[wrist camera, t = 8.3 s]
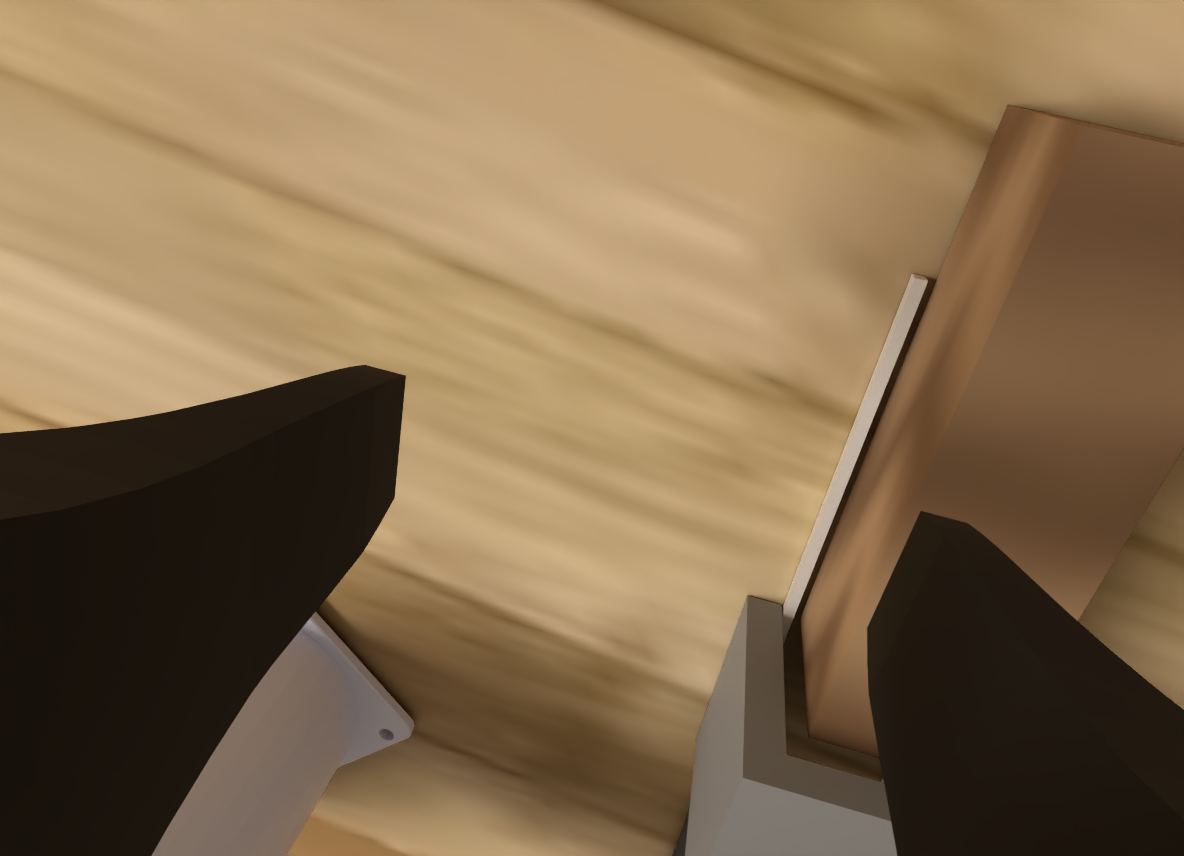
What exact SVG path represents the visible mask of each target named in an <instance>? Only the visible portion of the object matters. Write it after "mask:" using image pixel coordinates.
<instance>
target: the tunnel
mask: <svg viewBox="0 0 1184 856" xmlns="http://www.w3.org/2000/svg"><path fill="white" fill-rule="evenodd" d="M927 283H928V280H927V279H926V277H925V276H921V275H917V274H912V275H911V277H910V280H909V283H908V285H907V288H906V290H905V293H904V296H903V298H902V301H901V303H900V306H899V308H898V311H897V314H896V316H895V319H894V321H893V324H892V326H891V329H890V332H889V334H888V337H887V339H886V342H885V345H884V347H883V350H882V352H881V355H880V357H879V360H878V363H877V365H876V368H875V370H874V373H873V375H872V378H871V381H870V383H869V386H868V388H867V391H866V393H865V396H864V399H863V401H862V404H861V406H860V409H859V412H858V414H857V417H856V419H855V422H854V424H853V427H852V430H851V432H850V435H849V437H848V440H847V442H846V445H845V448H844V450H843V453H842V455H841V458H840V460H839V463H838V466H837V468H836V471H835V473H834V476H833V479H832V481H831V484H830V486H829V489H828V491H827V494H826V497H825V499H824V502H823V504H822V507H821V509H820V512H819V515H818V517H817V520H816V522H815V525H814V528H813V530H812V533H811V535H810V538H809V540H808V543H807V546H806V548H805V551H804V553H803V556H802V558H801V561H800V564H799V566H798V569H797V571H796V574H795V576H794V579H793V582H792V584H791V587H790V589H789V592H788V595H787V597H786V600H785V602H784V605H783V607H782V605H780V604H776V603H773V602H769V601H765V600H762V599H758V598H754V597H751V596H747V598H746V601H745V604H744V607H743V610H742V612H741V615H740V618H739V621H738V624H737V626H736V629H735V632H734V635H733V637H732V640H731V643H730V646H729V649H728V651H727V654H726V657H725V660H724V663H723V665H722V668H721V671H720V674H719V676H718V679H717V682H716V685H715V688H714V690H713V693H712V696H711V699H710V702H709V704H708V707H707V710H706V713H705V715H704V718H703V721H702V724H701V727H700V729H699V732H698V735H697V738H696V744H695V755H694V765H693V776H692V786H691V797H690V807H689V818H688V829H687V839H686V850H685V856H897V851H896V846H895V840H894V835H893V829H892V824H891V818H890V813H889V807H888V802H887V796H886V791H885V785H884V780H883V779H882V781H881V782H878V781H875V780H871V779H868V778H865V777H861V776H858V775H854V774H851V773H847V772H844V771H840V770H837V769H834V768H830V767H827V766H823V765H820V764H816V763H813V762H809V761H806V760H803V759H799V758H796V757H792V756H789V755H787V753H786V723H785V693H784V663H783V643H784V641H785V638H786V636H787V633H788V631H789V628H790V626H791V623H792V621H793V618H794V616H795V613H796V611H797V608H798V606H799V603H800V601H801V598H802V596H803V593H804V591H805V588H806V586H807V583H808V581H809V578H810V576H811V573H812V571H813V568H814V566H815V563H816V561H817V558H818V556H819V553H820V551H821V548H822V546H823V543H824V541H825V538H826V536H827V533H828V531H829V528H830V526H831V523H832V521H833V518H834V516H835V513H836V511H837V508H838V506H839V503H840V501H841V498H842V496H843V493H844V491H845V488H846V486H847V483H848V481H849V478H850V476H851V473H852V471H853V468H854V466H855V463H856V461H857V458H858V456H859V453H860V451H861V448H862V446H863V443H864V441H865V438H866V436H867V433H868V431H869V428H870V426H871V423H872V421H873V418H874V416H875V413H876V410H877V408H878V405H879V403H880V400H881V398H882V395H883V393H884V390H885V388H886V385H887V383H888V380H889V378H890V375H891V373H892V370H893V368H894V365H895V363H896V360H897V358H898V355H899V353H900V350H901V348H902V345H903V343H904V340H905V338H906V335H907V333H908V330H909V328H910V325H911V323H912V320H913V318H914V315H915V313H916V310H917V308H918V305H919V303H920V300H921V298H922V295H923V293H924V290H925V288H926V285H927Z"/></svg>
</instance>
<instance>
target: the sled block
mask: <svg viewBox="0 0 1184 856" xmlns="http://www.w3.org/2000/svg"><path fill="white" fill-rule="evenodd" d="M1183 448H1184V143H1180V142H1175V141H1171V140H1166V139H1162V138H1157V137H1153V136H1148V135H1144V134H1139V133H1134V132H1130V131H1125V130H1121V129H1116V128H1112V127H1107V126H1103V125H1098V124H1093V123H1089V122H1084V121H1080V120H1075V119H1071V118H1066V117H1062V116H1057V115H1052V114H1048V113H1043V112H1039V111H1034V110H1030V109H1025V108H1021V107H1016V106H1011V105H1007V107H1006V110H1005V112H1004V115H1003V117H1002V120H1001V122H1000V125H999V127H998V130H997V132H996V135H995V137H994V139H993V142H992V144H991V147H990V149H989V152H988V154H987V157H986V159H985V162H984V164H983V167H982V169H981V172H980V174H979V177H978V179H977V182H976V184H975V186H974V189H973V191H972V194H971V196H970V199H969V201H968V204H967V206H966V209H965V211H964V214H963V216H962V219H961V221H960V224H959V226H958V229H957V231H956V233H955V236H954V238H953V241H952V243H951V246H950V248H949V251H948V253H947V256H946V258H945V261H944V263H943V266H942V268H941V271H940V273H939V276H938V278H937V281H936V283H935V285H934V288H933V290H932V293H931V295H930V298H929V300H928V303H927V305H926V308H925V310H924V313H923V315H922V318H921V320H920V323H919V325H918V328H917V330H916V332H915V335H914V337H913V340H912V342H911V345H910V347H909V350H908V352H907V355H906V357H905V360H904V362H903V365H902V367H901V370H900V372H899V375H898V377H897V379H896V382H895V384H894V387H893V389H892V392H891V394H890V397H889V399H888V402H887V404H886V407H885V409H884V412H883V414H882V417H881V419H880V422H879V424H878V426H877V429H876V431H875V434H874V436H873V439H872V441H871V444H870V446H869V449H868V451H867V454H866V456H865V459H864V461H863V464H862V466H861V469H860V471H859V473H858V476H857V478H856V481H855V483H854V486H853V488H852V491H851V493H850V496H849V498H848V501H847V503H846V506H845V508H844V511H843V513H842V516H841V518H840V521H839V523H838V525H837V528H836V530H835V533H834V535H833V538H832V540H831V543H830V545H829V548H828V550H827V553H826V555H825V558H824V560H823V563H822V565H821V568H820V570H819V572H818V575H817V577H816V580H815V582H814V585H813V587H812V590H811V592H810V595H809V597H808V600H807V602H806V605H805V607H804V610H803V612H802V615H801V617H800V619H801V634H802V650H803V665H804V680H805V696H806V711H807V726H808V737H809V738H813V739H816V740H820V741H823V742H827V743H830V744H834V745H837V746H841V747H844V748H848V749H851V750H854V751H858V752H861V753H865V754H868V755H872V756H875V757H879V752H878V747H877V741H876V735H875V729H874V723H873V718H872V712H871V706H870V699H869V692H868V668H867V627H868V625H869V623H870V620H871V618H872V616H873V614H874V612H875V609H876V607H877V605H878V603H879V601H880V599H881V596H882V594H883V592H884V590H885V588H886V585H887V583H888V581H889V579H890V577H891V575H892V572H893V570H894V568H895V566H896V564H897V561H898V559H899V557H900V555H901V553H902V550H903V548H904V546H905V544H906V542H907V540H908V537H909V535H910V533H911V531H912V529H913V526H914V524H915V522H916V520H917V518H918V515H919V513H920V511H924V512H928V513H932V514H935V515H939V516H943V517H947V518H951V519H954V520H958V521H962V522H966V523H968V524H970V525H971V526H972V527H974V528H975V529H977V530H978V531H979V532H980V533H982V534H983V535H984V536H985V537H986V538H988V539H989V540H990V541H991V542H992V543H993V544H995V545H996V546H997V547H998V548H999V549H1000V550H1001V551H1002V552H1004V553H1005V554H1006V555H1007V556H1008V557H1009V558H1010V559H1011V560H1012V561H1013V562H1014V563H1015V564H1017V565H1018V566H1019V567H1020V568H1021V569H1022V570H1023V571H1024V572H1025V573H1026V574H1027V575H1028V576H1029V577H1030V578H1032V579H1033V580H1034V581H1035V582H1036V583H1037V584H1038V585H1039V586H1040V587H1041V588H1042V589H1043V590H1044V591H1045V592H1047V593H1048V594H1049V595H1050V596H1051V597H1052V598H1053V599H1054V600H1055V601H1056V602H1057V603H1058V604H1059V605H1061V606H1062V607H1063V608H1064V609H1065V610H1066V611H1067V612H1068V613H1069V614H1070V615H1071V616H1073V617H1074V618H1075V619H1076V620H1077V621H1078V620H1079V618H1080V616H1081V615H1082V613H1083V611H1084V610H1085V608H1086V606H1087V605H1088V603H1089V602H1090V600H1091V598H1092V597H1093V595H1094V593H1095V592H1096V590H1097V589H1098V587H1099V585H1100V584H1101V582H1102V580H1103V579H1104V577H1105V575H1106V574H1107V572H1108V571H1109V569H1110V567H1111V566H1112V564H1113V562H1114V561H1115V559H1116V558H1117V556H1118V554H1119V553H1120V551H1121V549H1122V548H1123V546H1124V544H1125V543H1126V541H1127V540H1128V538H1129V536H1130V535H1131V533H1132V531H1133V530H1134V528H1135V526H1136V525H1137V523H1138V522H1139V520H1140V518H1141V517H1142V515H1143V513H1144V512H1145V510H1146V509H1147V507H1148V505H1149V504H1150V502H1151V500H1152V499H1153V497H1154V495H1155V494H1156V492H1157V491H1158V489H1159V487H1160V486H1161V484H1162V482H1163V481H1164V479H1165V478H1166V476H1167V474H1168V473H1169V471H1170V469H1171V468H1172V466H1173V464H1174V463H1175V461H1176V460H1177V458H1178V456H1179V455H1180V453H1181V451H1182V450H1183Z"/></svg>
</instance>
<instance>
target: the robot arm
mask: <svg viewBox="0 0 1184 856" xmlns="http://www.w3.org/2000/svg"><path fill="white" fill-rule="evenodd" d="M405 379H406V376H405V375H401V374H397V373H393V372H390V371H386V370H382V369H378V368H374V367H371V366H367V365H361V366H353V367H348V368H343V369H339V370H334V371H330V372H326V373H322V374H319V375H315V376H311V377H307V378H304V379H300V380H296V381H293V382H289V383H285V384H281V385H278V386H274V387H270V388H267V389H263V390H259V391H256V392H252V393H248V394H244V395H240V396H236V397H232V398H227V399H223V400H219V401H214V402H210V403H206V404H201V405H197V406H193V407H188V408H184V409H180V410H175V411H171V412H166V413H161V414H156V415H150V416H145V417H139V418H133V419H127V420H120V421H113V422H107V423H100V424H93V425H86V426H78V427H70V428H60V429H48V430H36V431H24V432H12V433H1V434H0V856H287V854H288V852H289V851H290V849H291V847H292V846H293V844H294V842H295V840H296V839H297V837H298V835H299V834H300V832H301V830H302V828H303V827H304V825H305V823H306V821H307V820H308V818H309V816H310V815H311V813H312V811H313V809H314V808H315V806H316V804H317V803H318V801H319V799H320V797H321V796H322V794H323V792H324V791H325V789H326V787H327V785H328V784H329V782H330V780H331V778H332V777H333V775H334V773H335V772H336V770H337V768H339V767H341V766H343V765H346V764H348V763H351V762H353V761H355V760H358V759H360V758H363V757H365V756H367V755H370V754H372V753H375V752H377V751H379V750H382V749H384V748H386V747H389V746H391V745H394V744H396V743H398V742H401V741H403V740H406V739H407V738H409V737H410V735H411V733H412V731H413V729H414V722H413V720H412V719H411V717H410V716H409V715H408V714H407V713H406V712H405V711H404V709H403V708H402V707H401V706H400V705H399V704H398V703H397V702H396V701H395V699H394V698H393V697H392V696H391V695H390V694H389V693H388V692H387V691H386V689H385V688H384V687H383V686H382V685H381V684H380V683H379V682H378V680H377V679H376V678H375V677H374V676H373V675H372V674H371V673H370V672H369V670H368V669H367V668H366V667H365V666H364V665H363V664H362V663H361V662H360V660H359V659H358V658H357V657H356V656H355V655H354V654H353V653H352V651H351V650H350V649H349V648H348V647H347V646H346V645H345V644H344V643H343V641H342V640H341V639H340V638H339V637H338V636H337V635H336V634H335V633H334V631H333V630H332V629H331V628H330V627H329V626H328V625H327V624H326V623H325V621H324V620H323V619H322V618H321V617H320V616H319V615H318V614H317V612H316V610H317V609H318V608H319V607H320V605H321V604H322V603H323V602H324V600H325V599H326V598H327V597H328V596H329V594H330V593H331V592H332V591H333V589H334V588H335V587H336V586H337V584H338V583H339V582H340V580H341V579H342V578H343V577H344V575H345V574H346V573H347V572H348V570H349V569H350V568H351V567H352V565H353V564H354V563H355V562H356V560H357V559H358V558H359V556H360V555H361V554H362V552H363V551H364V549H365V548H366V546H367V545H368V543H369V541H370V540H371V538H372V536H373V535H374V533H375V531H376V530H377V528H378V526H379V524H380V523H381V521H382V519H383V517H384V516H385V514H386V512H387V510H388V508H389V507H390V505H391V503H392V501H393V500H394V497H395V486H396V476H397V465H398V454H399V443H400V433H401V422H402V411H403V401H404V390H405ZM867 668H868V692H869V699H870V706H871V712H872V718H873V723H874V729H875V735H876V741H877V747H878V752H879V758H880V763H881V769H882V774H883V780H884V785H885V791H886V796H887V802H888V807H889V813H890V818H891V824H892V829H893V835H894V840H895V846H896V851H897V856H1184V710H1183V709H1182V708H1180V707H1179V706H1178V705H1177V704H1175V703H1174V702H1173V701H1172V700H1170V699H1169V698H1168V697H1166V696H1165V695H1164V694H1163V693H1161V692H1160V691H1159V690H1158V689H1156V688H1155V687H1154V686H1153V685H1151V684H1150V683H1149V682H1148V681H1147V680H1145V679H1144V678H1143V677H1142V676H1141V675H1139V674H1138V673H1137V672H1136V671H1135V670H1133V669H1132V668H1131V667H1130V666H1129V665H1127V664H1126V663H1125V662H1124V661H1123V660H1122V659H1120V658H1119V657H1118V656H1117V655H1116V654H1114V653H1113V652H1112V651H1111V650H1110V649H1108V648H1107V647H1106V646H1105V645H1104V644H1103V643H1102V642H1100V641H1099V640H1098V639H1097V638H1096V637H1095V636H1094V635H1093V634H1091V633H1090V632H1089V631H1088V630H1087V629H1086V628H1085V627H1084V626H1082V625H1081V624H1080V623H1079V622H1078V621H1077V620H1076V619H1075V618H1074V617H1073V616H1071V615H1070V614H1069V613H1068V612H1067V611H1066V610H1065V609H1064V608H1063V607H1062V606H1061V605H1059V604H1058V603H1057V602H1056V601H1055V600H1054V599H1053V598H1052V597H1051V596H1050V595H1049V594H1048V593H1047V592H1045V591H1044V590H1043V589H1042V588H1041V587H1040V586H1039V585H1038V584H1037V583H1036V582H1035V581H1034V580H1033V579H1032V578H1030V577H1029V576H1028V575H1027V574H1026V573H1025V572H1024V571H1023V570H1022V569H1021V568H1020V567H1019V566H1018V565H1017V564H1015V563H1014V562H1013V561H1012V560H1011V559H1010V558H1009V557H1008V556H1007V555H1006V554H1005V553H1004V552H1002V551H1001V550H1000V549H999V548H998V547H997V546H996V545H995V544H993V543H992V542H991V541H990V540H989V539H988V538H986V537H985V536H984V535H983V534H982V533H980V532H979V531H978V530H977V529H975V528H974V527H972V526H971V525H970V524H968V523H966V522H962V521H958V520H954V519H951V518H947V517H943V516H939V515H935V514H932V513H928V512H924V511H920V513H919V515H918V518H917V520H916V522H915V524H914V526H913V529H912V531H911V533H910V535H909V537H908V540H907V542H906V544H905V546H904V548H903V550H902V553H901V555H900V557H899V559H898V561H897V564H896V566H895V568H894V570H893V572H892V575H891V577H890V579H889V581H888V583H887V585H886V588H885V590H884V592H883V594H882V596H881V599H880V601H879V603H878V605H877V607H876V609H875V612H874V614H873V616H872V618H871V620H870V623H869V625H868V627H867ZM389 730H390V731H389Z"/></svg>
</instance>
